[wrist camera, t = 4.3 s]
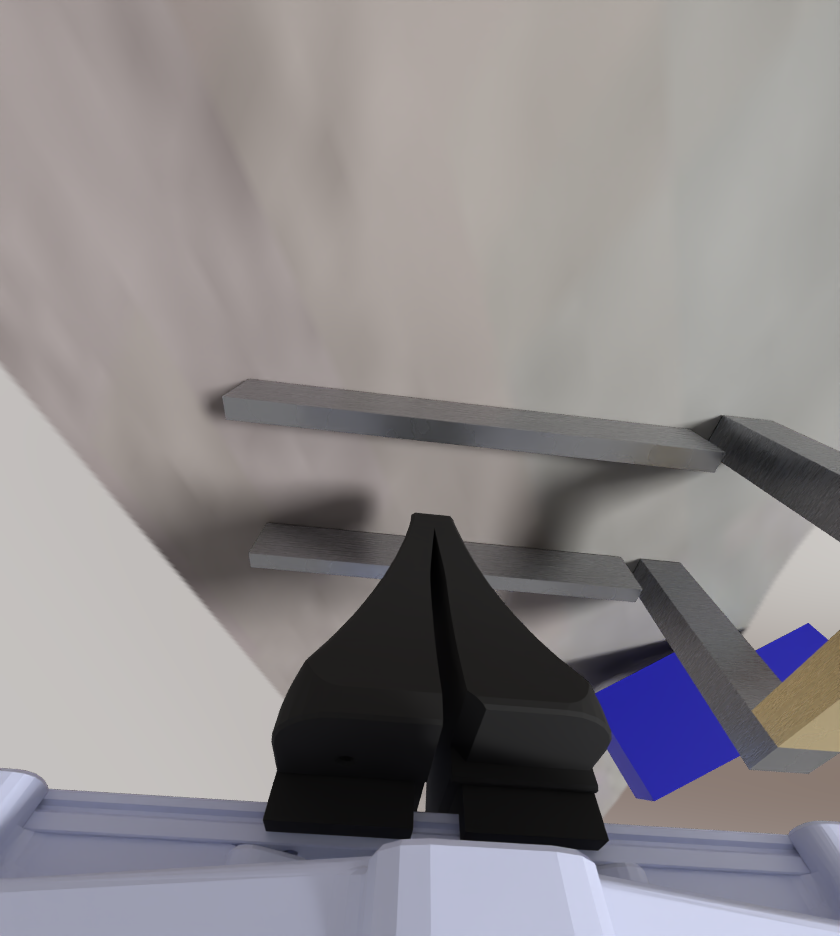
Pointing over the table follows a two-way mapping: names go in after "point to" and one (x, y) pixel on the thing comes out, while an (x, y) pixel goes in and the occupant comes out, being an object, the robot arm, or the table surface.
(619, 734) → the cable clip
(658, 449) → the guide channel
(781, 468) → the bracket
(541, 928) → the robot arm
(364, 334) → the table surface
